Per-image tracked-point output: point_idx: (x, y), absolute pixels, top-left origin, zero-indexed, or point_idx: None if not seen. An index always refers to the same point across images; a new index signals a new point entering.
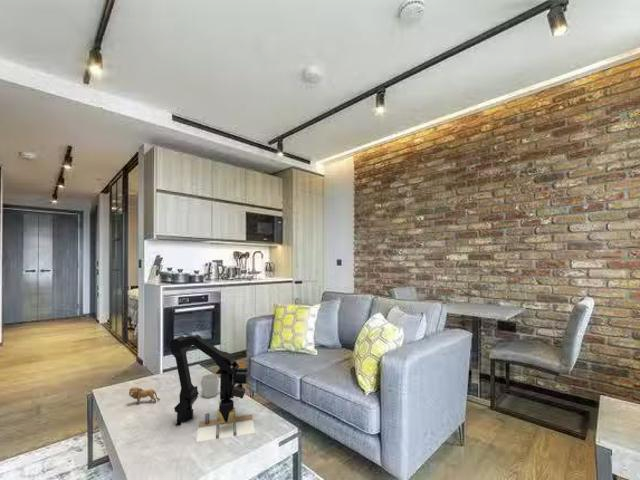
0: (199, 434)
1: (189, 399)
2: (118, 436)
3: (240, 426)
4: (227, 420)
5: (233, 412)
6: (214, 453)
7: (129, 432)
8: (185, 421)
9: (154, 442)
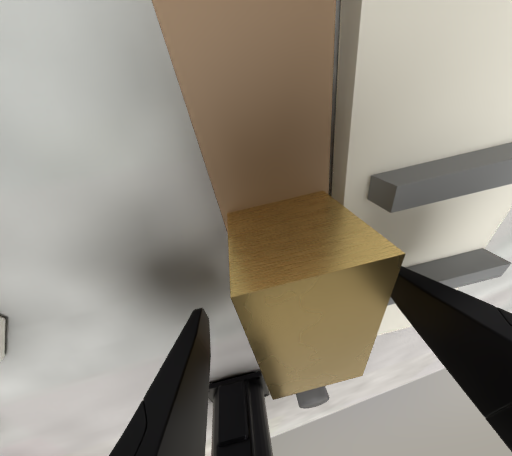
0: (386, 328)
1: None
2: (294, 426)
3: (439, 113)
4: (403, 268)
5: (392, 272)
6: None
7: (282, 424)
8: (261, 392)
9: (346, 385)
